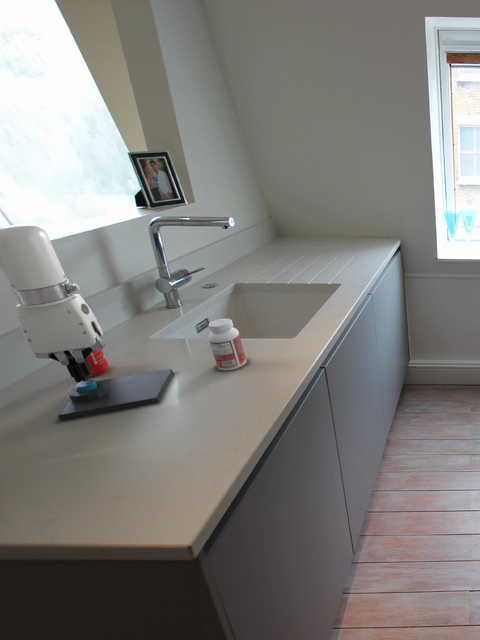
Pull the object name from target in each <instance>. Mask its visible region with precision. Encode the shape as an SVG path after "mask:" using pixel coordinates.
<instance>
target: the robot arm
mask: <svg viewBox="0 0 480 640" xmlns="http://www.w3.org/2000/svg"><path fill="white" fill-rule="evenodd" d="M51 241H52V240H51V239H50V237H49V235H48V233H47V231H46V230H45V229H44V228H43V227H42V226H40V225H37V224H16V225H7V226H6V225H5V226H2V227H0V269H1V272H2V273H3V275H4V277H5V279H6V281H7V283H8V285H9V286H10V288H11V291H12V293H13V295H14V297H15V299H16V301H17V304H16V305H15V309H16V315H17V319H18V323H19V326H20V329H21V332H22V335H23V338H24V339H25V342H26V343H27V345H28V347H29V349H30V351H31V352H33V353H34V356H35V358H37V359H51V360H53V361H55V362H58V363H60V364H61V366H65V367H66V369H67V371H68V373H69V375H70V376H71V378H73V379H74V381H75V383H80V382H82V381H87V380H90V378H92V377H91V376H92V373H93V369H92V367H91V365H90V363H89V361H88V357H89V355H90V354H91V353H92V352H95V351H97V350H100V349H102V350H103V349H104V348H105V347H106V343H105V341H104V340H103V339H102V338H103V336H104V331H103V330H102V327H101V325H100V323H99V321H98V319H97V318H96V316H95V314H94V312H93V311H92V309H91V308H90V306H89V305H88V303H87V302H86V300H85V299H84V298H83V297H82V296H81V294H80V293H75V292H79V291H81V286H80V284H79V283H71V282H70V280H69V279H68V278H67V276H66V274H65V271H64V268H63V267H62V265H61V261H60V259H59V258H58V255H57V253H56V251H55V248H54V246H53V244H52V242H51ZM71 350H73V351H74V355H75V356H74V355H73V353H72V352H71Z"/></svg>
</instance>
